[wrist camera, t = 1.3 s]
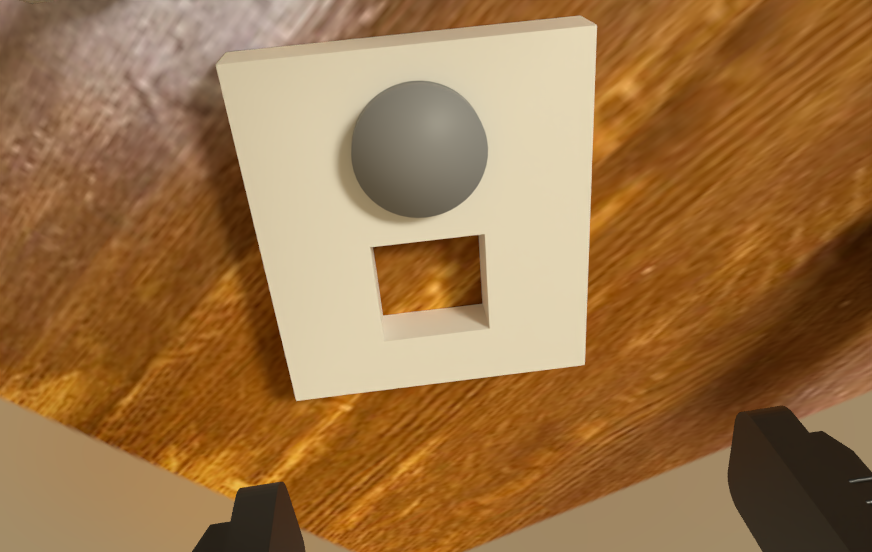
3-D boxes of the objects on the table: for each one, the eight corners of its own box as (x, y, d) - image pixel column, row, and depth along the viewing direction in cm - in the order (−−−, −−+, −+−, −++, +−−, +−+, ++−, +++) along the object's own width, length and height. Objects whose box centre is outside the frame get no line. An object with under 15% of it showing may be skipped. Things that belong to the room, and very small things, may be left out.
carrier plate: (226, 52, 30) (210, 70, 27) (580, 15, 31) (604, 29, 28) (299, 372, 39) (294, 413, 36) (572, 339, 40) (589, 376, 37)
